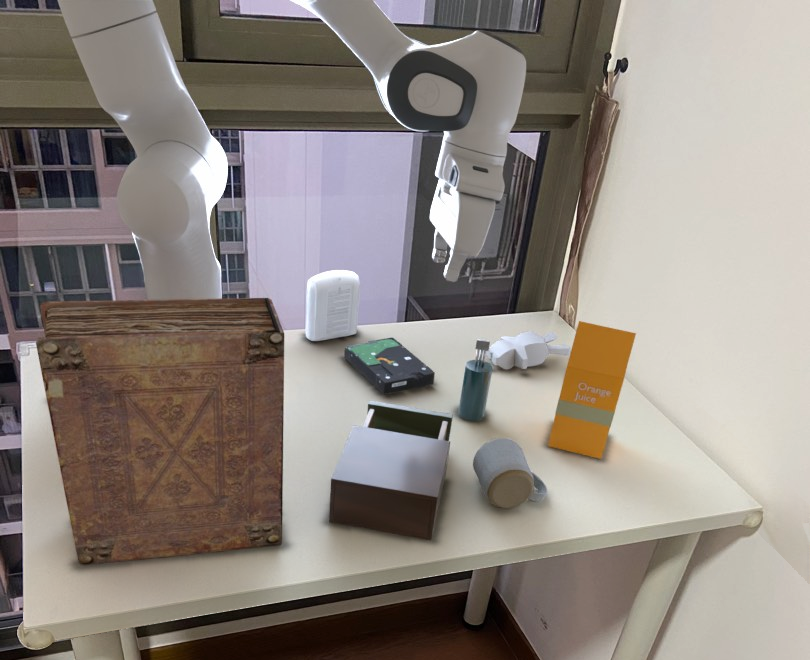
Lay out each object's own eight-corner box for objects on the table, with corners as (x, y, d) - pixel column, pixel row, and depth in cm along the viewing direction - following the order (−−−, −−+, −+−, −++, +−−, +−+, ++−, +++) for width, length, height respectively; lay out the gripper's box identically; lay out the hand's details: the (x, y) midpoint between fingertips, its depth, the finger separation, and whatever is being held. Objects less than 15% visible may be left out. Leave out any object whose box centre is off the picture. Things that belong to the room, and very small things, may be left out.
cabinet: (350, 466, 126) (353, 424, 121) (444, 482, 125) (450, 441, 120) (328, 522, 115) (331, 478, 110) (431, 540, 114) (437, 497, 109)
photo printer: (348, 326, 163) (352, 263, 156) (360, 335, 161) (364, 272, 153) (301, 334, 158) (303, 270, 151) (312, 344, 156) (314, 279, 148)
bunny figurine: (480, 334, 157) (551, 319, 161) (479, 358, 160) (549, 343, 164) (503, 357, 150) (577, 341, 154) (501, 382, 154) (573, 366, 158)
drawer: (372, 418, 136) (374, 387, 132) (451, 431, 135) (456, 401, 131) (349, 477, 122) (351, 444, 118) (437, 492, 121) (442, 460, 118)
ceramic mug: (483, 513, 120) (493, 468, 115) (468, 480, 126) (477, 436, 121) (552, 511, 122) (565, 467, 117) (534, 478, 128) (545, 435, 123)
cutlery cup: (456, 418, 140) (468, 344, 131) (459, 405, 143) (471, 332, 135) (482, 423, 139) (496, 348, 131) (485, 410, 143) (498, 337, 135)
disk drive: (434, 386, 148) (391, 349, 157) (436, 372, 146) (392, 335, 155) (384, 397, 143) (342, 358, 152) (385, 382, 141) (343, 344, 151)
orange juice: (555, 423, 142) (582, 311, 129) (607, 436, 140) (639, 323, 128) (547, 446, 136) (574, 331, 123) (601, 459, 134) (634, 344, 122)
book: (76, 566, 103) (32, 339, 84) (77, 520, 110) (37, 301, 91) (283, 545, 110) (284, 331, 91) (272, 503, 117) (271, 296, 98)
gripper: (433, 152, 123) (411, 247, 130) (462, 179, 106) (435, 286, 113) (474, 162, 125) (450, 255, 132) (508, 190, 108) (479, 295, 115)
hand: (443, 270), depth 122 cm, fingers open, 8 cm apart
